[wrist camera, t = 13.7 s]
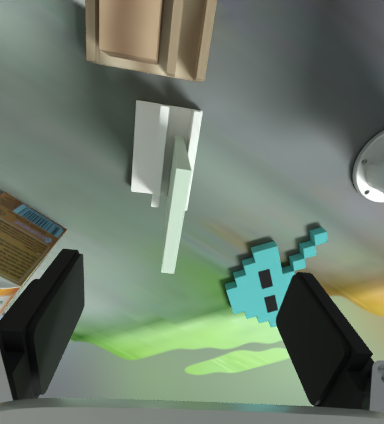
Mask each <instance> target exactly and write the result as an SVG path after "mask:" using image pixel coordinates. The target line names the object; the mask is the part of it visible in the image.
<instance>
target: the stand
mask: <svg viewBox="0 0 384 424" xmlns="http://www.w3.org/2000/svg"><path fill="white" fill-rule="evenodd" d="M202 113H203V112H202V111H201V110H195V109H189V108H183V107H177V106H171V105H165V104H158V103H152V102H146V101H140V100H136V114H135V132H134V149H133V166H132V184H131V191H133V192H142V193H150V194H152V204H151V207H159V200H160V195H167V192H168V184H169V177H170V170H171V162H172V155H173V148H174V140H175V136H179V137H183V138H184V142H185V146H186V150H187V154H188V158H189V162H190V166H191V170H192V172H191V178H190V183H189V189H188V195H187V201H186V207H185V211H187V207H188V201H189V195H190V189H191V182H192V176H193V170H194V163H195V157H196V151H197V145H198V138H199V132H200V126H201V120H202Z"/></svg>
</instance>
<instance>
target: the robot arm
mask: <svg viewBox="0 0 384 424" xmlns="http://www.w3.org/2000/svg"><path fill="white" fill-rule="evenodd" d="M353 183H354V186H355V189H356V190H357V192H358V193H359V194H360V195H361V196H363V197H365V198H366V199H368V200H371V201H373V202H384V130H383V131H382V132H380V133H378V134H377V135H375V136H374V137H373V138H372V139H371V140H370V141H369V142H368V143H367V144H366V145H365V146H364V147H363V149H362V150H361V152H360V153H359V155H358V157H357V159H356V161H355V164H354V168H353ZM83 308H84V270H83V254H79V251H78V250H72V249H62V250H61V252H60V253H59V254H58V256H57V257H56V258H55V259H54V261H53V262H52V263H51V265H50V266H49V267H48V269H47V270H46V271H45V272H44V274H43V275H42V276H41V278H40V279H34V280H33V281H32V282H31V283H30V284H29V285H28V286H27V288H26V289H25V290H24V291H23V293H22V294H21V295H20V296H19V298H18V299H17V300H16V301H15V302H14V304H13V305H12V306H11V307H10V309H9V310H8V311H7V312H6V314H5V315H4V316H3V317H2V319H1V320H0V424H384V361H376V362H374V361H373V360H372V359H371V356H372V355H373V353H372V352H371V351H370V350H369V348H368V347H367V346H366V344H365V343H364V342H363V340H362V339H361V338H360V336H359V335H358V334H357V333H356V331H355V330H354V329H353V327H352V326H351V324H350V323H349V322H348V320H347V319H346V318H345V317H344V315H343V314H342V313H341V312H340V310H339V309H338V307H337V306H336V305H335V303H334V302H333V301H332V299H331V298H330V297H329V295H328V294H327V293H326V291H325V290H324V289H323V288H322V286H321V285H320V284H319V282H318V281H317V280H316V278H315V277H314V276H313V275H312V274H311V273H303V272H298V273H296V275H293V276H292V278H291V281H290V283H289V286H288V289H287V291H286V294H285V296H284V299H283V301H282V304H281V306H280V309H279V311H278V314H277V316H276V325H277V328H278V330H279V332H280V335H281V337H282V339H283V342H284V344H285V346H286V349H287V351H288V353H289V356H290V358H291V360H292V363H293V365H294V367H295V370H296V372H297V374H298V377H299V379H300V381H301V383H302V386H303V388H304V391H305V393H306V395H307V398H308V400H309V402H310V403H311V404H312V405H314V407H312V406H290V405H289V406H288V405H267V404H265V405H264V404H242V403H217V402H191V401H190V402H189V401H163V400H132V399H98V398H97V399H96V398H95V399H94V398H38V397H39V395H40V394H42V395H43V394H44V393H45V392H46V391H47V389H48V386H49V384H50V382H51V380H52V378H53V375H54V373H55V371H56V369H57V367H58V364H59V362H60V360H61V358H62V355H63V353H64V351H65V349H66V347H67V344H68V342H69V340H70V338H71V336H72V333H73V331H74V329H75V327H76V324H77V322H78V320H79V318H80V316H81V313H82V311H83Z"/></svg>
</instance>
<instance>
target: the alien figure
mask: <svg viewBox="0 0 384 424" xmlns="http://www.w3.org/2000/svg"><path fill="white" fill-rule="evenodd" d="M309 231H310V241H307V242H303V243H300V244H299V248H300V253H299V254H296V255H292V256H289V261H290V266H286V267H283V268H281V262H280V257H279V252H278V246H277V245H276V243H275V242H274V241H272V242H268V243H265V244H262V245H258V246H255V247H251V252H252V256H253V257H251V258H248V259H245V260H241V261H242V264H243V268H244V269H243V270H240V271H236V272H233V275H234V278H235V281H234V282H230V283H227V284H225V288H226V291H227V294H228V297H229V301H230V304H231V307H232V310H233V313H234V314H237V313H240V312H245V315H246V318H247V319H248V318H251V317H255V316H257V319H258V322H259V323H262V322H265V321H269V324H270V326H271V327H275V326H277V325H276V316H277V314H278V311H279V309H280V306H281V304H282V301H283V299H284V296H285V294H286V291H287V289H288V286H289V283H290V281H291V278H292V276H293V275H295V273H294V271H296V270H300V269H303V268H306V265H305V258H308V257H312V256H315V255H316V246H315V245H319V244H322V243H326V242H328V240H327V231H325V230H324V229H323V228H322V227H320V228H316V229H313V230H309Z"/></svg>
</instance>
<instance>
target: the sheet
mask: <svg viewBox="0 0 384 424" xmlns="http://www.w3.org/2000/svg"><path fill="white" fill-rule="evenodd" d="M191 172H192V170H191V166H190V162H189V158H188V154H187V150H186V146H185V142H184V138H183V137H179V136H175V140H174V148H173V155H172V162H171V170H170V177H169V184H168V192H167V199H166V212H165V226H164V240H163V254H162V268H161V273H172V274H174V271H175V265H176V259H177V253H178V247H179V242H180V236H181V230H182V224H183V218H184V212H185V207H186V201H187V195H188V189H189V183H190V178H191Z"/></svg>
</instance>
